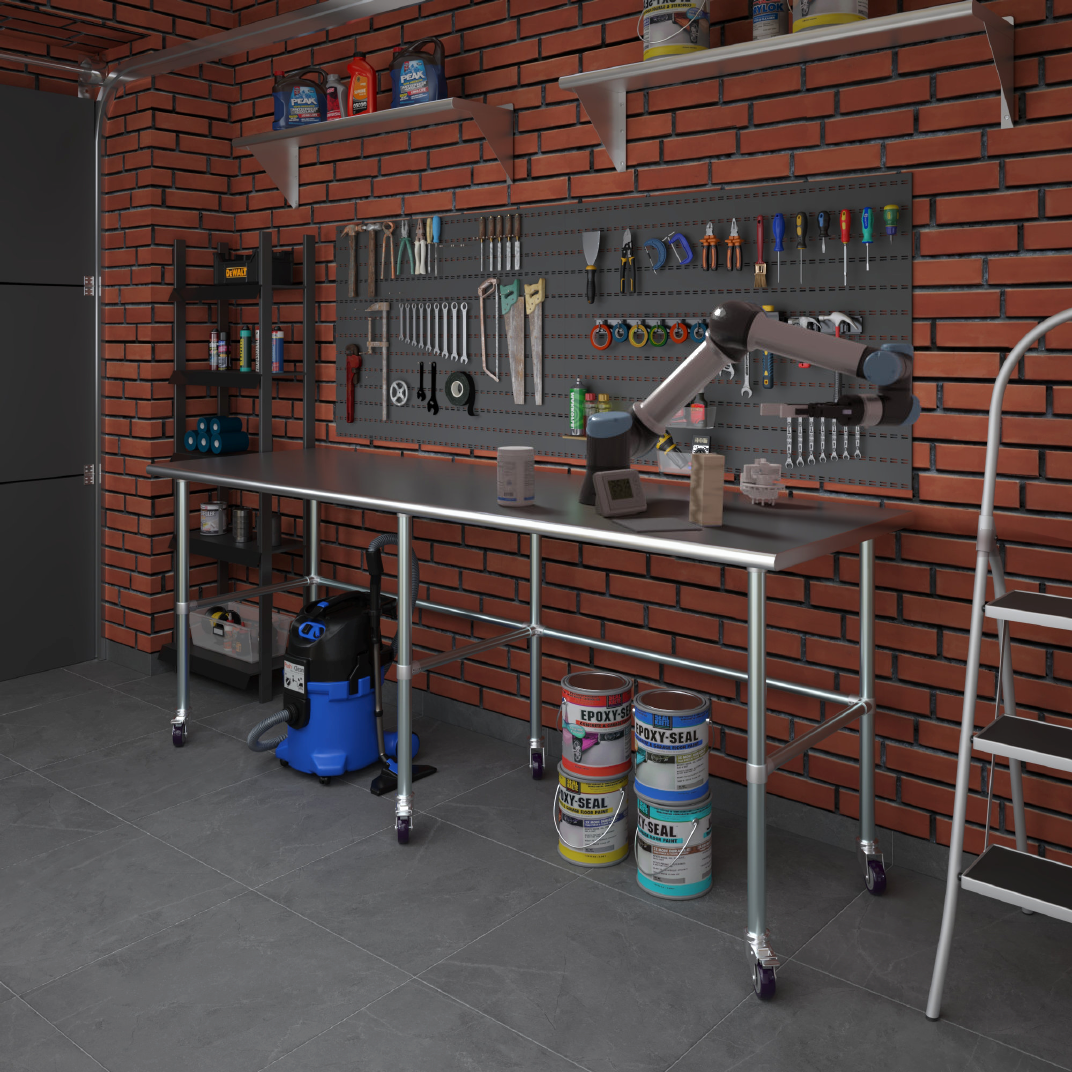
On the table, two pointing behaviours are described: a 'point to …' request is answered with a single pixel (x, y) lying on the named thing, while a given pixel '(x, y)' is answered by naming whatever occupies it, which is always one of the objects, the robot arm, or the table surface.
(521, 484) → the supplement tub
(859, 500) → the table surface
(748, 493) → the mechanical part
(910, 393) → the robot arm
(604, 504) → the digital clock
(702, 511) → the beige rectangular block
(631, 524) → the charcoal rubber mat
